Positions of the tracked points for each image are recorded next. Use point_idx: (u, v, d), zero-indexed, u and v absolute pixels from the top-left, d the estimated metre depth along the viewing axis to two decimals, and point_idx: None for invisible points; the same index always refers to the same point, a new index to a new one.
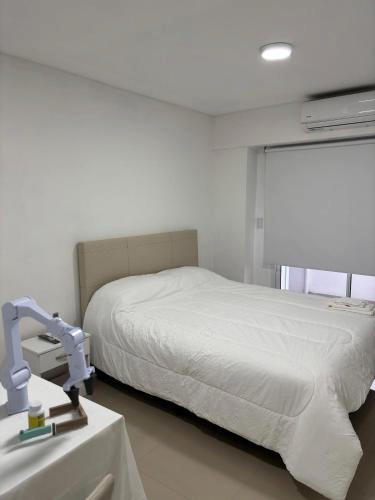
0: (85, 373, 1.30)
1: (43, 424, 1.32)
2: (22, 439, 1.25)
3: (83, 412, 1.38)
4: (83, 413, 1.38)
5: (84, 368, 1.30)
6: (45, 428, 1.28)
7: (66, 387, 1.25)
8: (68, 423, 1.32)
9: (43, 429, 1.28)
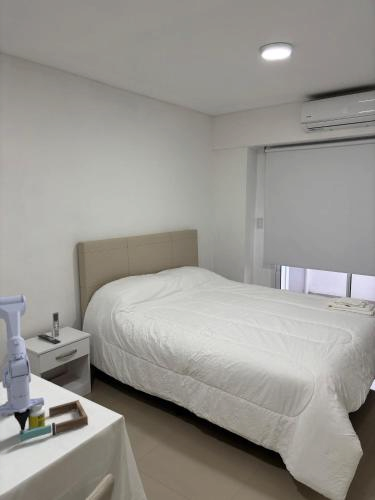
0: (22, 406, 1.27)
1: (43, 424, 1.32)
2: (22, 439, 1.25)
3: (83, 412, 1.38)
4: (83, 413, 1.38)
5: (21, 401, 1.26)
6: (45, 428, 1.28)
7: None
8: (68, 423, 1.32)
9: (43, 429, 1.28)
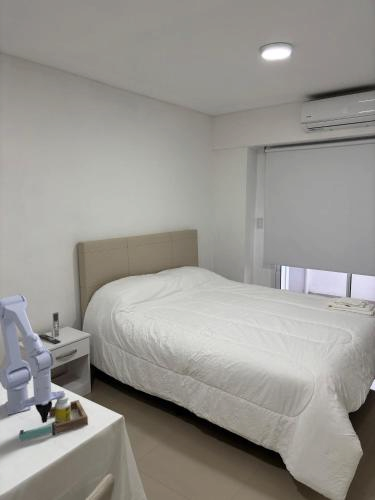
0: (44, 398, 1.30)
1: (69, 416, 1.37)
2: (22, 439, 1.25)
3: (83, 412, 1.38)
4: (83, 413, 1.38)
5: (44, 394, 1.30)
6: (45, 428, 1.28)
7: (20, 405, 1.29)
8: (68, 423, 1.32)
9: (43, 429, 1.28)
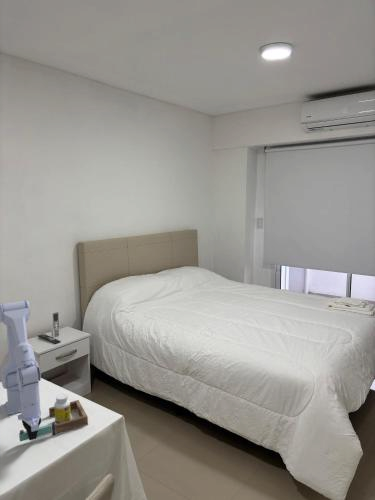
0: None
1: (69, 416, 1.37)
2: (22, 439, 1.25)
3: (83, 412, 1.38)
4: (83, 413, 1.38)
5: (21, 408, 1.22)
6: (45, 428, 1.28)
7: None
8: (68, 423, 1.32)
9: (43, 429, 1.28)
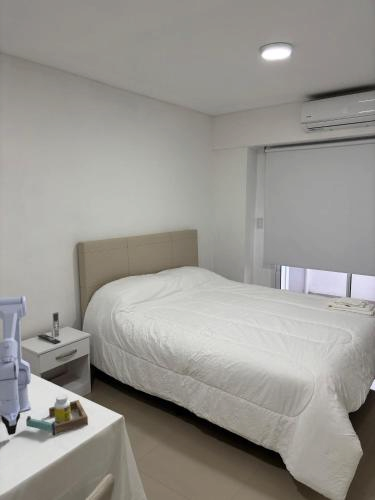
0: (0, 408, 1.25)
1: (69, 416, 1.37)
2: (28, 425, 1.32)
3: (83, 412, 1.38)
4: (83, 413, 1.38)
5: None
6: (45, 424, 1.30)
7: None
8: (68, 423, 1.32)
9: (44, 424, 1.30)
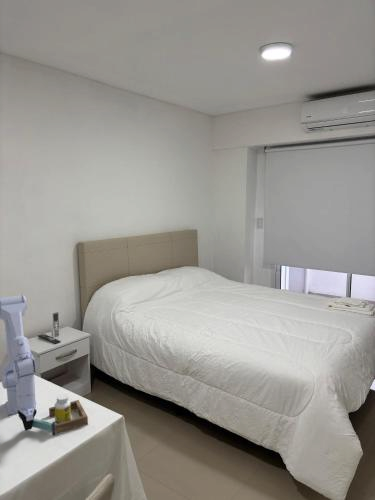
0: (17, 404, 1.27)
1: (69, 416, 1.37)
2: None
3: (83, 412, 1.38)
4: (83, 413, 1.38)
5: (17, 399, 1.27)
6: (46, 424, 1.30)
7: None
8: (68, 423, 1.32)
9: (44, 424, 1.30)
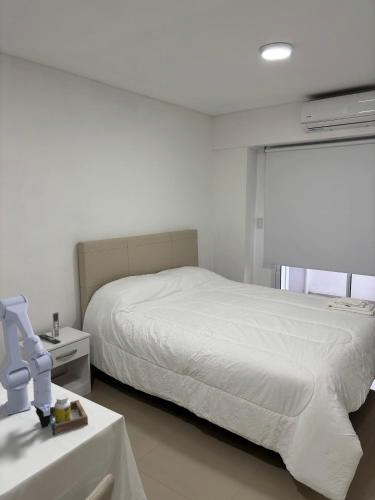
0: (34, 399, 1.30)
1: (69, 416, 1.37)
2: None
3: (83, 412, 1.38)
4: (83, 413, 1.38)
5: (34, 394, 1.30)
6: (50, 421, 1.32)
7: None
8: (68, 423, 1.32)
9: (49, 421, 1.32)
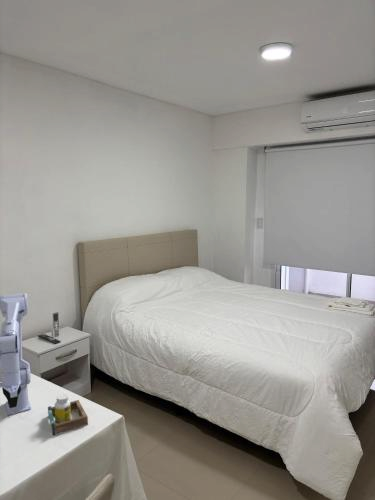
0: (1, 381, 1.27)
1: (69, 416, 1.37)
2: (48, 414, 1.39)
3: (83, 412, 1.38)
4: (83, 413, 1.38)
5: (1, 376, 1.27)
6: (51, 421, 1.32)
7: None
8: (68, 423, 1.32)
9: (50, 420, 1.32)
